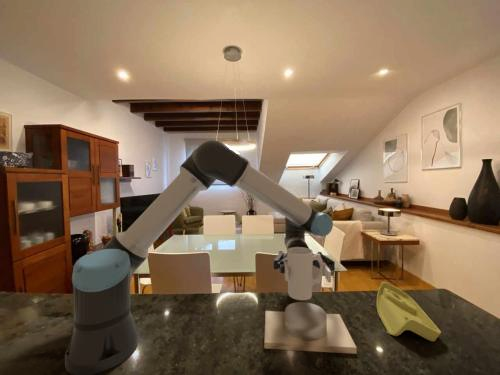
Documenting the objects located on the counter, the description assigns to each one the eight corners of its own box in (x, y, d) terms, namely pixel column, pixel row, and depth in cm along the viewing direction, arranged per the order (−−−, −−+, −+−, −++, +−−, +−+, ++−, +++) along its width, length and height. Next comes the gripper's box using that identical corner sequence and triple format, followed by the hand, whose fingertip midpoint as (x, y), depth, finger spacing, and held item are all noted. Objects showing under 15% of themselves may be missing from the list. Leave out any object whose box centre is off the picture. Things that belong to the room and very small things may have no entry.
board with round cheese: (264, 348, 57) (264, 326, 57) (265, 315, 71) (265, 298, 71) (356, 353, 55) (356, 331, 55) (339, 319, 69) (339, 301, 69)
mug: (290, 301, 59) (290, 254, 58) (284, 289, 66) (284, 247, 65) (329, 299, 60) (329, 253, 59) (319, 287, 66) (319, 246, 66)
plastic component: (445, 336, 58) (406, 316, 60) (429, 358, 60) (391, 338, 61) (408, 293, 78) (379, 278, 79) (396, 310, 79) (368, 296, 80)
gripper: (330, 261, 80) (354, 292, 58) (265, 260, 82) (263, 289, 60) (330, 240, 80) (354, 262, 58) (265, 239, 82) (263, 260, 59)
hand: (308, 276), depth 59 cm, fingers closed on mug, 10 cm apart
